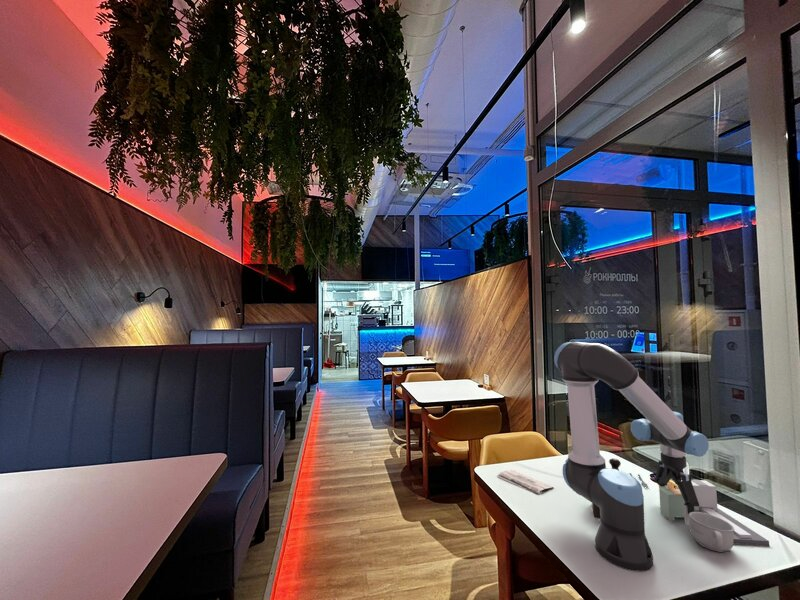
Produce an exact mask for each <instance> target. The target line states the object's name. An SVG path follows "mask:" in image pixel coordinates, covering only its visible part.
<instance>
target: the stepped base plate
mask: <svg viewBox="0 0 800 600" xmlns="http://www.w3.org/2000/svg"><path fill="white" fill-rule="evenodd" d="M691 482H692V485H693V488H694V491H695V494H696V497H697V500H698V503H699V507H697V506H694V512H702V513H707V514H710V515H713V516H716V517H718V518H721V519H723V520H725V521H727V522H728V523H730V524H731V525H732V526H733V527H734V541H733V545H745V546H746V545H748V546H749V545H750V546H765V547H769V546H770V540H768V539H767V538H765V537H763V536H762V535H761V534H759V533H758V532H756V531H754V530H753V529H751V528H749V527H748V526H746V525H745V524H743V523H742V522H740V521H738V519H736V518H734V517H732V516H731V515H729V514H727V513H726V512H725V511H723V510H721V509H720V508H719V507H718V497H717V486H716V485H714V484H712V483H711V482H709V481H707V480H705V479H704V480H702V479H701V480H700V479H691Z"/></svg>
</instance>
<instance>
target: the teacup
mask: <svg viewBox="0 0 800 600" xmlns="http://www.w3.org/2000/svg"><path fill="white" fill-rule="evenodd" d="M689 517H690V524H689V531H690V534H691V536H692V538H694V539H695V540H696V541H697V543H698V544H699V545H701V546H702V547H704V548H706V549H709V550H711V551H713V552H714V551H715V552H718V553H719V552H720V553H723V552H727V551H730V550H732V549H733V548H734V547H733V546H734V544H733V541H734V527H733V526H732V525H731V524H730V523H728V522H727V521H725V520H723V519H721V518H718V517H716V516H713V515H710V514H707V513H702V512H691V513H689Z"/></svg>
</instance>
